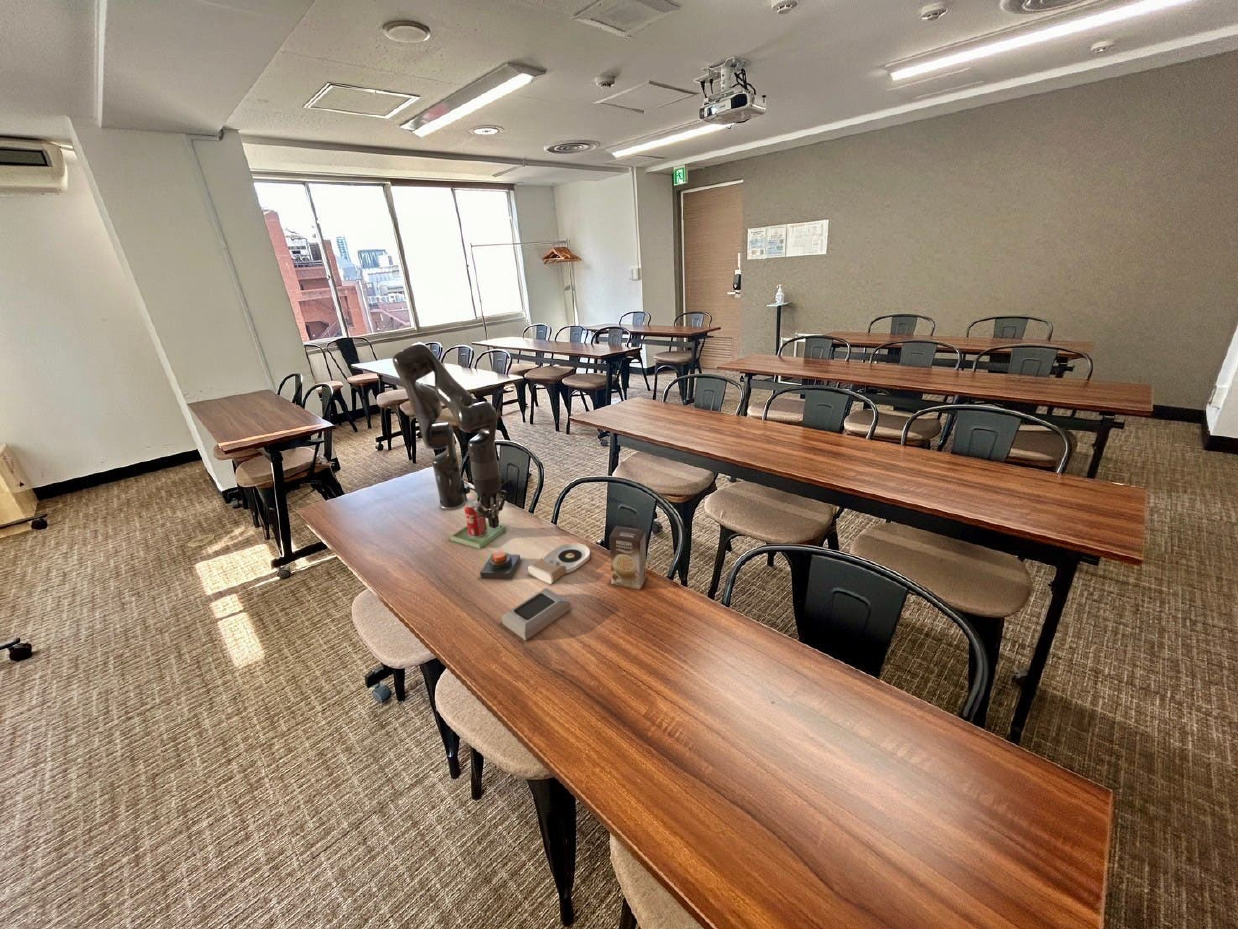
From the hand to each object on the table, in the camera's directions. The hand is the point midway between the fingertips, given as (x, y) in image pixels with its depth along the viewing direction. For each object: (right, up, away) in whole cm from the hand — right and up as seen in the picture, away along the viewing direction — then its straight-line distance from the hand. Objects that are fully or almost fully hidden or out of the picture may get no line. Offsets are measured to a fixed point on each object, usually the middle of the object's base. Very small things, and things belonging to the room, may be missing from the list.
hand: (494, 526), depth 141 cm
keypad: (+15, -22, -15) cm, 30 cm away
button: (+1, -11, +4) cm, 11 cm away
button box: (+1, -14, +6) cm, 15 cm away
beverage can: (-12, -6, +25) cm, 29 cm away
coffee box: (+40, -15, -2) cm, 43 cm away
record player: (+19, -12, +7) cm, 24 cm away
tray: (-12, -6, +25) cm, 29 cm away
